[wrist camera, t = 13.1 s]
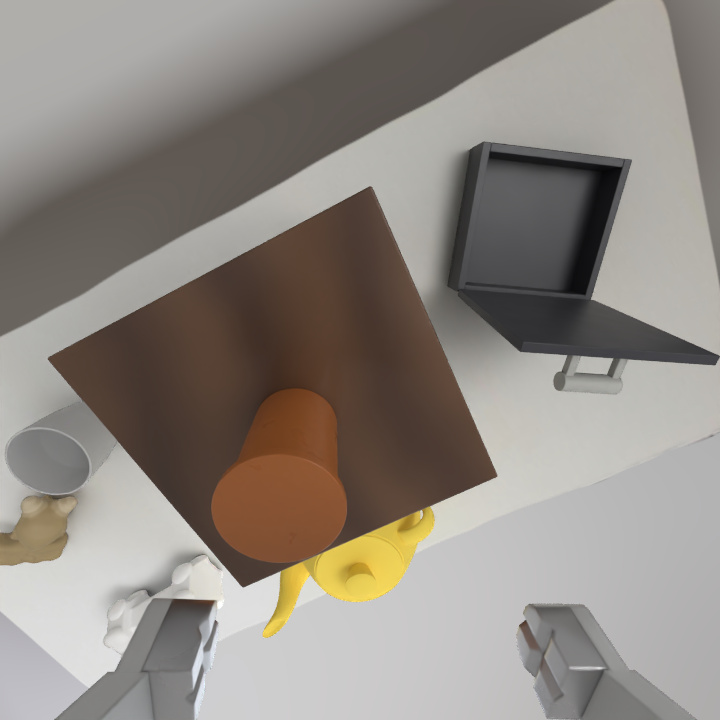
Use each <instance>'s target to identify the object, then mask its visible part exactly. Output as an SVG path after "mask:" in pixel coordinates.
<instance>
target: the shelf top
mask: <svg viewBox="0 0 720 720" xmlns="http://www.w3.org/2000/svg"><path fill="white" fill-rule="evenodd" d="M48 360H49V361H50V363H51V364H52V365H53V366H54V367H55V368H56V370H57V371H58V372H59V373H60V374H61V375H62V377H63V378H64V379H65V380H66V381H67V382H68V384H69V385H70V386H71V387H72V388H73V389H74V391H75V392H76V393H77V394H78V395H79V397H80V398H81V399H82V400H83V401H84V402H85V404H86V405H87V406H88V407H89V408H90V409H91V411H92V412H93V413H94V414H95V415H96V416H97V418H98V419H99V420H100V421H101V422H102V423H103V425H104V426H105V427H106V428H107V429H108V430H109V432H110V433H111V434H112V435H113V436H114V437H115V439H116V440H117V441H118V442H119V443H120V445H121V446H122V447H123V448H124V449H125V450H126V452H127V453H128V454H129V455H130V456H131V457H132V459H133V460H134V461H135V462H136V463H137V464H138V466H139V467H140V468H141V469H142V470H143V471H144V473H145V474H146V475H147V476H148V477H149V478H150V480H151V481H152V482H153V483H154V484H155V486H156V487H157V488H158V489H159V490H160V491H161V493H162V494H163V495H164V496H165V497H166V498H167V500H168V501H169V502H170V503H171V504H172V505H173V507H174V508H175V509H176V510H177V511H178V512H179V514H180V515H181V516H182V517H183V518H184V519H185V521H186V522H187V523H188V524H189V525H190V527H191V528H192V529H193V530H194V531H195V532H196V534H197V535H198V536H199V537H200V538H201V539H202V541H203V542H204V543H205V544H206V545H207V546H208V548H209V549H210V550H211V551H212V552H213V553H214V555H215V556H216V557H217V558H218V559H219V560H220V562H221V563H222V564H223V565H224V566H225V567H226V569H227V570H228V571H229V572H230V573H231V575H232V576H233V577H234V578H235V579H236V580H237V582H238V583H239V584H240V585H241V586H242V587H246V586H248V585H250V584H253V583H255V582H257V581H260V580H262V579H264V578H266V577H269V576H271V575H273V574H276V573H278V572H280V571H283V570H285V569H287V568H289V567H292V566H294V565H296V564H299V563H301V562H303V561H305V560H308V559H310V558H312V557H315V556H317V555H319V554H321V553H324V552H326V551H328V550H331V549H333V548H335V547H338V546H340V545H342V544H344V543H347V542H349V541H351V540H354V539H356V538H358V537H360V536H363V535H365V534H367V533H370V532H372V531H374V530H377V529H379V528H381V527H383V526H386V525H388V524H390V523H393V522H395V521H397V520H399V519H402V518H404V517H406V516H409V515H411V514H413V513H415V512H418V511H420V510H422V509H425V508H427V507H429V506H432V505H434V504H436V503H438V502H441V501H443V500H445V499H448V498H450V497H452V496H454V495H457V494H459V493H461V492H464V491H466V490H468V489H471V488H473V487H475V486H477V485H480V484H482V483H484V482H487V481H489V480H491V479H493V478H496V477H497V473H496V471H495V469H494V466H493V464H492V462H491V459H490V457H489V455H488V452H487V450H486V448H485V446H484V443H483V441H482V439H481V436H480V434H479V432H478V429H477V427H476V425H475V423H474V420H473V418H472V416H471V413H470V411H469V409H468V406H467V404H466V402H465V400H464V397H463V395H462V393H461V390H460V388H459V386H458V383H457V381H456V379H455V377H454V374H453V372H452V370H451V367H450V365H449V363H448V360H447V358H446V356H445V354H444V351H443V349H442V347H441V344H440V342H439V340H438V337H437V335H436V333H435V331H434V328H433V326H432V324H431V321H430V319H429V317H428V314H427V312H426V310H425V308H424V305H423V303H422V301H421V298H420V296H419V294H418V291H417V289H416V287H415V284H414V282H413V280H412V278H411V275H410V273H409V271H408V268H407V266H406V264H405V261H404V259H403V257H402V255H401V252H400V250H399V248H398V245H397V243H396V241H395V238H394V236H393V234H392V232H391V229H390V227H389V225H388V222H387V220H386V218H385V215H384V213H383V211H382V209H381V206H380V204H379V202H378V199H377V197H376V195H375V192H374V190H373V188H372V187H368V188H366V189H364V190H362V191H360V192H358V193H357V194H355V195H353V196H351V197H349V198H347V199H345V200H343V201H342V202H340V203H338V204H336V205H334V206H332V207H330V208H328V209H326V210H325V211H323V212H321V213H319V214H317V215H315V216H313V217H311V218H310V219H308V220H306V221H304V222H302V223H300V224H298V225H296V226H295V227H293V228H291V229H289V230H287V231H285V232H283V233H281V234H279V235H278V236H276V237H274V238H272V239H270V240H268V241H266V242H264V243H263V244H261V245H259V246H257V247H255V248H253V249H251V250H249V251H247V252H246V253H244V254H242V255H240V256H238V257H236V258H234V259H232V260H231V261H229V262H227V263H225V264H223V265H221V266H219V267H217V268H216V269H214V270H212V271H210V272H208V273H206V274H204V275H202V276H200V277H199V278H197V279H195V280H193V281H191V282H189V283H187V284H185V285H184V286H182V287H180V288H178V289H176V290H174V291H172V292H170V293H168V294H167V295H165V296H163V297H161V298H159V299H157V300H155V301H153V302H152V303H150V304H148V305H146V306H144V307H142V308H140V309H138V310H137V311H135V312H133V313H131V314H129V315H127V316H125V317H123V318H121V319H120V320H118V321H116V322H114V323H112V324H110V325H108V326H106V327H105V328H103V329H101V330H99V331H97V332H95V333H93V334H91V335H89V336H88V337H86V338H84V339H82V340H80V341H78V342H76V343H74V344H73V345H71V346H69V347H67V348H65V349H63V350H61V351H59V352H58V353H56V354H54V355H52V356H50V357H49V358H48ZM291 388H299V389H305V390H309V391H312V392H314V393H316V394H318V395H320V396H321V397H323V398H324V399H325V400H326V401H327V402H328V403H329V404H330V406H331V407H332V409H333V411H334V413H335V416H336V420H337V456H338V477H339V479H340V480H341V482H342V484H343V486H344V489H345V493H346V499H347V515H346V520H345V523H344V526H343V528H342V530H341V532H340V534H339V535H338V536H337V538H336V539H335V540H334V541H333V542H332V543H331V544H330V545H329V546H328V547H327V548H325V549H324V550H322V551H321V552H319V553H318V554H316V555H313V556H311V557H309V558H306V559H303V560H299V561H294V562H286V563H275V562H266V561H261V560H257V559H254V558H251V557H248V556H246V555H244V554H242V553H240V552H239V551H237V550H236V549H234V548H233V547H231V546H230V545H229V544H228V543H227V542H226V541H225V540H224V539H223V538H222V537H221V535H220V534H219V532H218V531H217V528H216V526H215V524H214V521H213V518H212V511H211V505H212V498H213V494H214V491H215V489H216V486H217V484H218V482H219V480H220V479H221V477H222V475H223V474H224V473H225V472H226V470H227V469H228V468H229V467H231V466H232V465H233V464H234V463H235V462H237V459H238V457H239V454H240V452H241V450H242V447H243V445H244V442H245V440H246V437H247V435H248V433H249V430H250V428H251V425H252V423H253V420H254V418H255V415H256V413H257V411H258V409H259V407H260V405H261V404H262V403H263V401H265V400H266V399H267V398H268V397H269V396H271V395H272V394H274V393H276V392H278V391H281V390H285V389H291Z"/></svg>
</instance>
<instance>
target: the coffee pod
mask: <svg viewBox="0 0 720 720" xmlns="http://www.w3.org/2000/svg"><path fill="white" fill-rule="evenodd" d="M211 511H212V518H213V521H214V524H215V526H216V528H217V531H218V532H219V534H220V535H221V537H222V538H223V539H224V540H225V541H226V542H227V543H228V544H229V545H230V546H231V547H233V548H234V549H236V550H237V551H239V552H240V553H242V554H244V555H246V556H248V557H251V558H254V559H257V560H261V561H266V562H275V563H286V562H294V561H299V560H303V559H306V558H309V557H311V556H313V555H316V554H318V553H319V552H321V551H322V550H324V549H325V548H327V547H328V546H329V545H330V544H331V543H332V542H333V541H334V540H335V539H336V538H337V536H338V535H339V534H340V532H341V530H342V528H343V526H344V523H345V520H346V515H347V499H346V493H345V489H344V486H343V484H342V482H341V480H340V479H339V477H338V456H337V420H336V416H335V413H334V411H333V409H332V407H331V406H330V404H329V403H328V402H327V401H326V400H325V399H324V398H323V397H321V396H320V395H318V394H316V393H314V392H312V391H309V390H305V389H299V388H291V389H285V390H281V391H278V392H276V393H274V394H272V395H271V396H269V397H268V398H267V399H266V400H265V401H263V403H262V404H261V405H260V407H259V409H258V411H257V413H256V415H255V418H254V420H253V423H252V425H251V428H250V430H249V433H248V435H247V437H246V440H245V442H244V445H243V447H242V450H241V452H240V454H239V457H238V459H237V462H235V463H234V464H233V465H232V466H231V467H229V468H228V469H227V470H226V472H225V473H224V474H223V475H222V477H221V479H220V480H219V482H218V484H217V486H216V489H215V491H214V494H213V498H212V505H211Z"/></svg>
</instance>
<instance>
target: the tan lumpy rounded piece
mask: <svg viewBox="0 0 720 720" xmlns="http://www.w3.org/2000/svg"><path fill="white" fill-rule="evenodd" d="M77 503H78V500H77V499H76V498H75V497H72V496H68V497H64V498H61V499H53V498H52V497H51V496H50V495H48V494H47V495H45V496H44V497H42V498H39V497H37V496H29V497H26V498H25V499H24V500H23V501H22V503H21V510H22V514H21V517H20V519H19V521H18V523H17V525H16V527H15V528H14V530H13V532H11V533H0V565H11V566H12V565H17V564H20V563H23V562H29V563H39V562H42V561H51V560H55V559H57V558H59V557H60V556H61V554H62V551H63V549H64V547H65V545H66V543H67V534H66V533H65V531H66V528H67V517H68V514H69V512H71V511H72V510H73V509H74V508H75V506H76V505H77Z"/></svg>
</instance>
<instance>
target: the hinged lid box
mask: <svg viewBox="0 0 720 720" xmlns="http://www.w3.org/2000/svg"><path fill="white" fill-rule="evenodd" d="M631 162H632V160H630V159H621V158H613V157H605V156H597V155H589V154H581V153H572V152H564V151H556V150H548V149H540V148H532V147H523V146H515V145H507V144H499V143H491V142H482V143H480V144H479V145H477V146H475V147H473V148H472V149H470V155H469V161H468V167H467V173H466V179H465V185H464V191H463V197H462V203H461V209H460V215H459V221H458V227H457V233H456V239H455V245H454V251H453V257H452V263H451V268H450V274H449V280H448V287H450V288H452V289H454V290H455V291H457V292H459V289H467V290H479V291H491V292H503V293H514V294H526V295H538V296H550V297H562V298H574V299H586V300H591V297H592V293H593V290H594V287H595V283H596V280H597V277H598V273H599V270H600V266H601V263H602V260H603V256H604V253H605V250H606V246H607V243H608V239H609V236H610V233H611V229H612V226H613V223H614V219H615V216H616V212H617V209H618V206H619V202H620V199H621V196H622V192H623V189H624V185H625V182H626V179H627V175H628V172H629V169H630V165H631Z"/></svg>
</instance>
